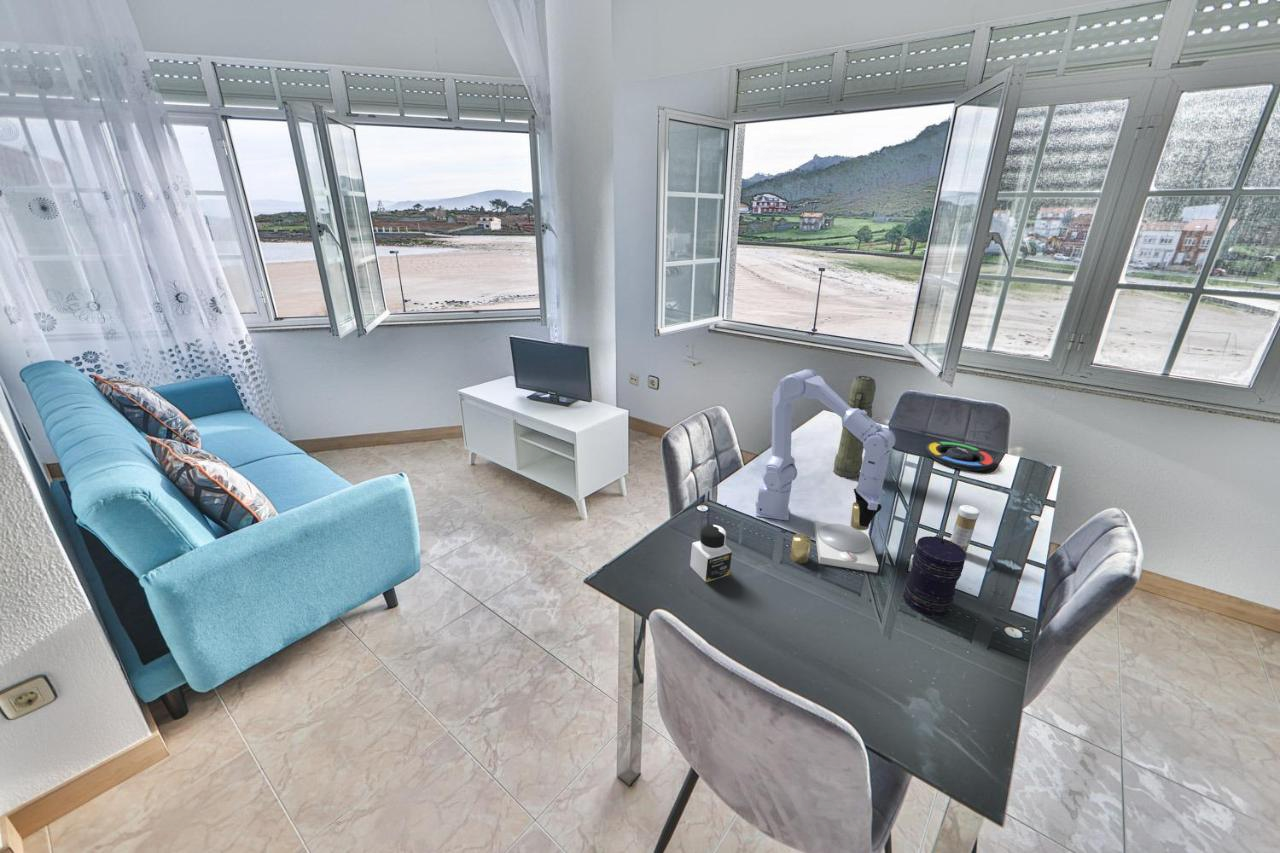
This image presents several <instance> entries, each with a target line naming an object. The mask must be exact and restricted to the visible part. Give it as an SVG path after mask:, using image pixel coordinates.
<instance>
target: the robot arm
mask: <svg viewBox="0 0 1280 853" xmlns="http://www.w3.org/2000/svg"><path fill="white" fill-rule="evenodd" d="M801 396H802V398H803V399H810V400H811V399H816V400H818V401H819V402H821V403H822V404H823V405H825V407H827V408H829V409H830V410H831V411H832V412H833V413H835V414H836V415H838V416H839V417H840V418H841V425H842V424H843V426H844V427H846V428H847V429H848V430H849V431H850V432H851V433H852V434H854V435H855V436H856V437H857V438H858V439H859V440H860V441H861V442H863V447H864V449H863V450H864V451H865V452H864V455H863V457H862V460H863V462H862V467H861V470H860V472H859V477H858V482H857V486H856V487H855V488H853V492H854V496H855V497H854V498H855V502H858V505H859V524H860V526H865V527H868V526H869V527H870V524H871V522H872V520H873V519H874V517H875V516H876V515H877V513H878V512H880V511H881V510H882V505H881V504H880V503H879V501H880V499H881V497H883V496H884V497H886V494H887V493H886V491H885V490H884V489H883V485H884V481H885V477H886V472H887V468H888V463H889V458H890V454H891V451H890V450H891V449H893V447H894V446H895V444H896V435H895V433H894V432H893V431H892V430H891V429H890V428H889V427H884V426H882V425H881V424H880V423H877V422H876V421H874V420H873V419H872V418H870V417H868V416H867V415H866V414H867V412H866V411H865V410H862V411H861V410H860V409H859V408H856V409H855V408H851V407H850V406H849V405H848V403H847V402H845V401H844V400H843V398H842V397H840V396H839V395H838V394H837V393H836V392H835V391H834V390H833V389H832V388H831V387H830V386H829V385H828V384H827V383H826V381H825V380H824V378H823V377H822V376H820V375H818V374H817V373H816V372H815V371H814V370H813V369H809V368H805V369H802V370H800V371H798V372H794V373H792V374H787V375H786V376H784V377H783V378H781V379H780V380H779V382H778V386H777V388H776V389H775V391H774V393H773V395H772V399H771V400H772V401H771V402H772V404H771V405H772V406H771V407H772V408H771V409H772V410H771V411H772V413H771V456H770V457H769V459H768V461H767V462H766V464H765V467H766V468H765V471H764V473H763V476H762V480H763V483H762V482H759V483H758V490H757V498H756V500H755V516H756V517H760V518H768V519H775V520H781V521H789V520H790V517H789V514H790V513H789V504H790V497H791V491H792V483H793V481H794V480H796V478H797V476H798V469H797V467H796V462H795V460H796V459H795V458H794V456H792V428H793V426H792V424H793V403H794V402H796V401H797V400H798V399H800V398H801Z"/></svg>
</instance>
